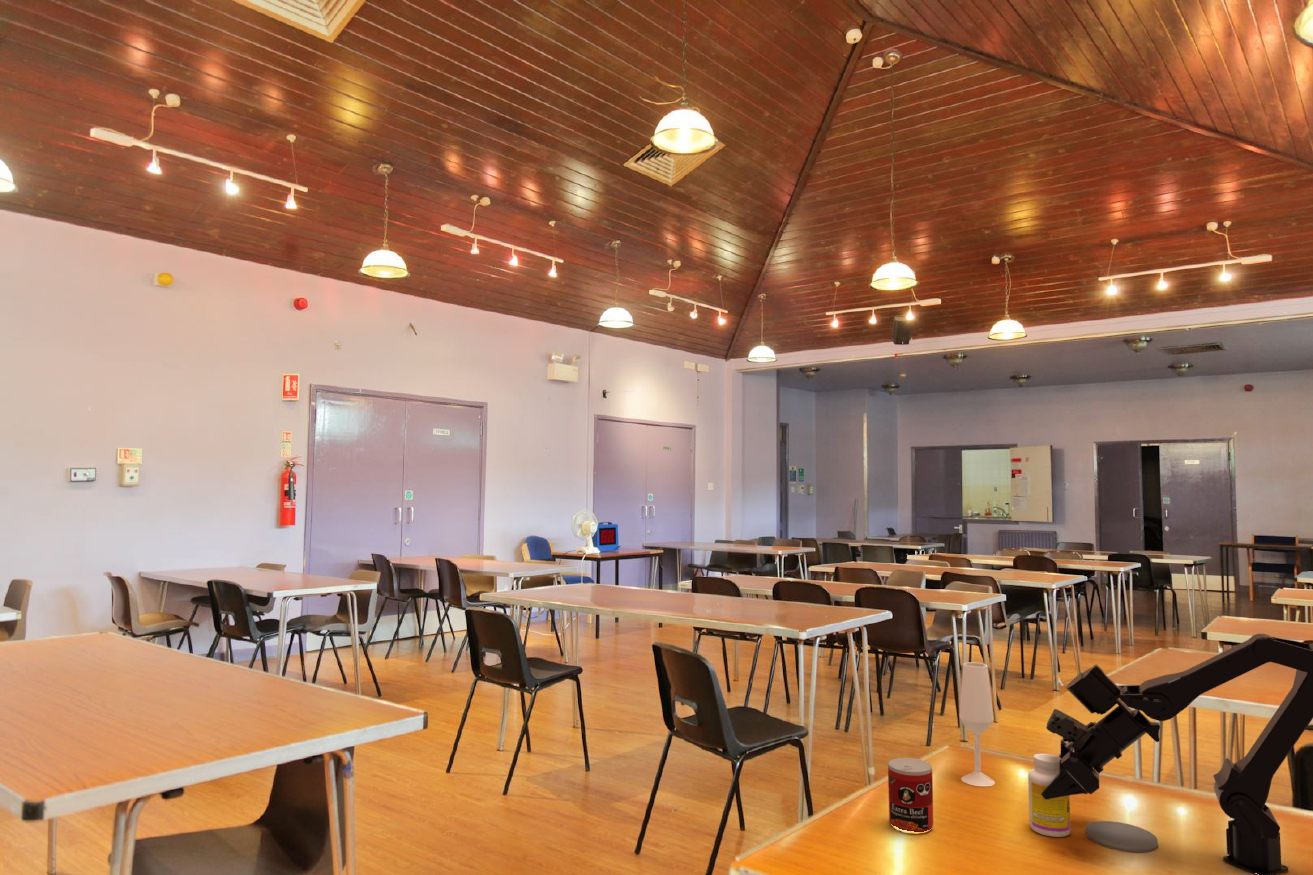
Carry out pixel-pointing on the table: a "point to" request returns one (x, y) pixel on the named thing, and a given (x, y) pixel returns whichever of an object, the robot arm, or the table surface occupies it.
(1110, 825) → the slate coaster
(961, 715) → the champagne flute
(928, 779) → the canned food
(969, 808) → the table surface
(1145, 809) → the table surface
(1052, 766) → the supplement bottle
